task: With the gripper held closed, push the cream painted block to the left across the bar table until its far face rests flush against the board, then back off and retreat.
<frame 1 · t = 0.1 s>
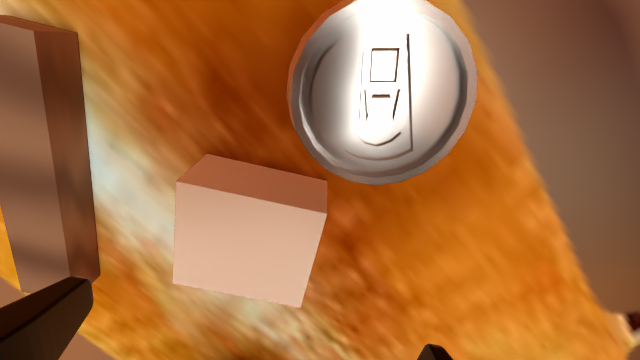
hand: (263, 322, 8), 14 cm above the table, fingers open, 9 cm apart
board: (63, 170, 22), on the table
block: (260, 211, 24), on the table
beer can: (350, 68, 19), on the table
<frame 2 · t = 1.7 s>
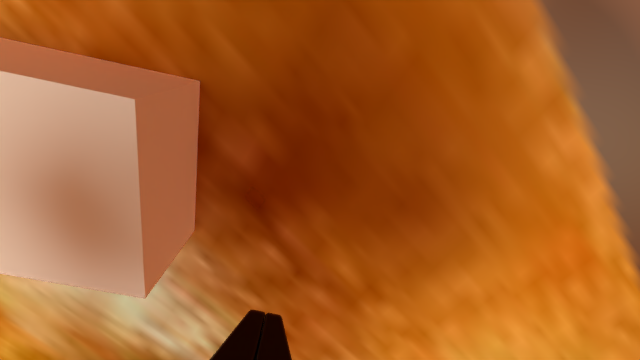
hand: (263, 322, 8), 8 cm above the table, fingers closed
block: (106, 144, 14), on the table
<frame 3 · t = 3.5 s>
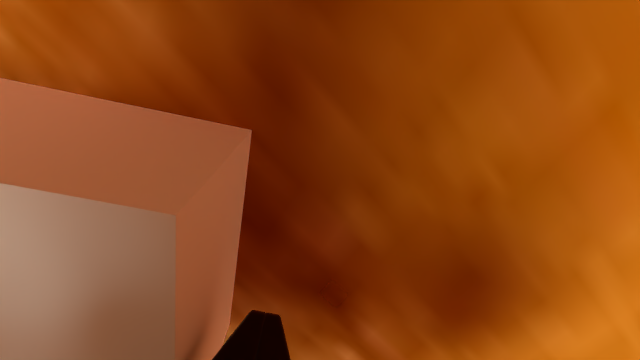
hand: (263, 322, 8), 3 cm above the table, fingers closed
block: (109, 213, 10), on the table
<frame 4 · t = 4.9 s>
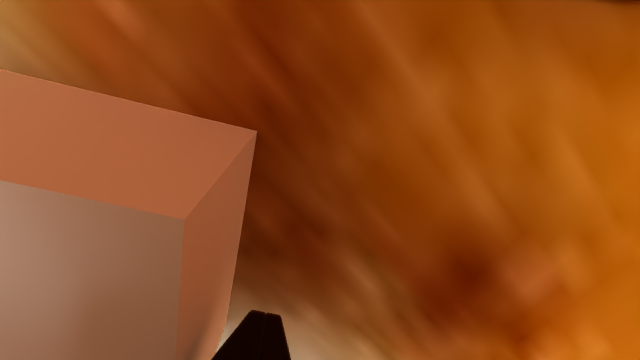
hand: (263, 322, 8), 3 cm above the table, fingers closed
block: (108, 209, 10), on the table, touching gripper
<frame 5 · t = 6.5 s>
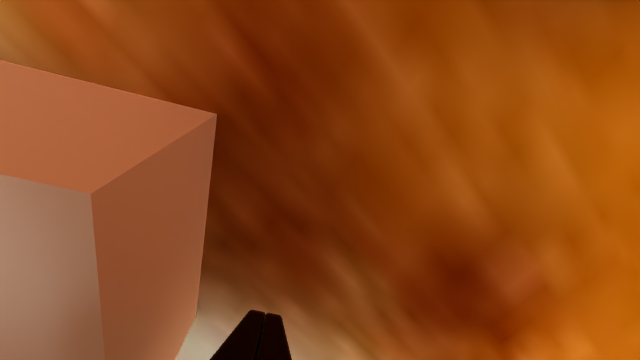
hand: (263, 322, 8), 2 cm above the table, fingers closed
block: (68, 197, 10), on the table
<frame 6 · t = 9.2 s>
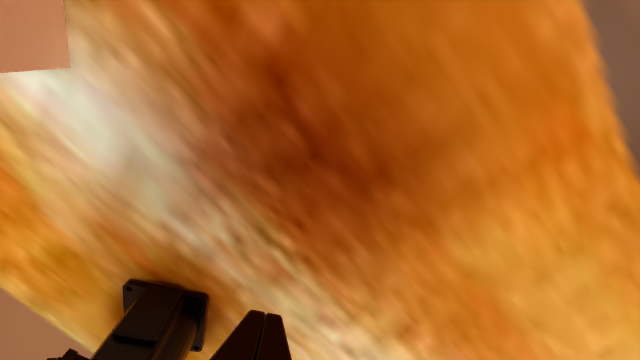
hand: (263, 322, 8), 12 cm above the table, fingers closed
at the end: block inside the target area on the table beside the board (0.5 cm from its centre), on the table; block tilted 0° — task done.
